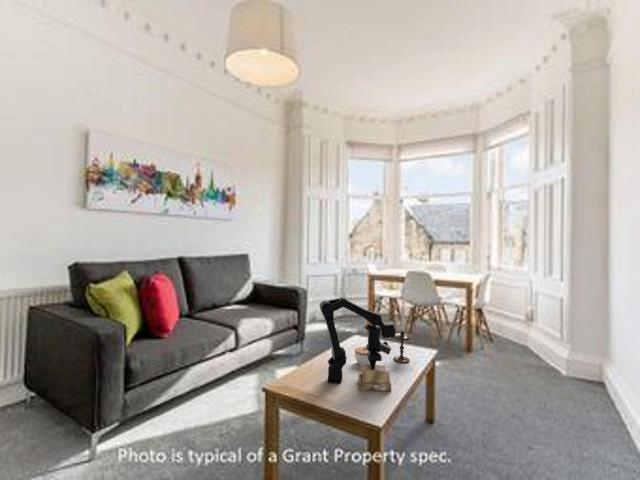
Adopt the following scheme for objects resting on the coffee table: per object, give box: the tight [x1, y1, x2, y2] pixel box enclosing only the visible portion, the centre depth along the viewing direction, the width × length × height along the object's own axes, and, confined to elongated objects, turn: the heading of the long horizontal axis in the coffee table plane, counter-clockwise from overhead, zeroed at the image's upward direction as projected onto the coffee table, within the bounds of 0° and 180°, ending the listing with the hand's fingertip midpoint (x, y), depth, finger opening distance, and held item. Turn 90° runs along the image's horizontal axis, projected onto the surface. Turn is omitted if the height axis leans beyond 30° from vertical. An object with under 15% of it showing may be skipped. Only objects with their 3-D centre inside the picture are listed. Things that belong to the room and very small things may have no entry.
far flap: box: [359, 364, 387, 374], centre depth 175 cm, size 12×5×1 cm, turn 87°
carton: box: [357, 372, 392, 393], centre depth 167 cm, size 15×11×4 cm
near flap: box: [361, 370, 390, 383], centre depth 162 cm, size 12×5×1 cm
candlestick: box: [392, 300, 413, 364], centre depth 201 cm, size 11×11×35 cm
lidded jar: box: [354, 346, 370, 366], centre depth 195 cm, size 11×11×9 cm
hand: (372, 369), depth 174 cm, fingers closed
